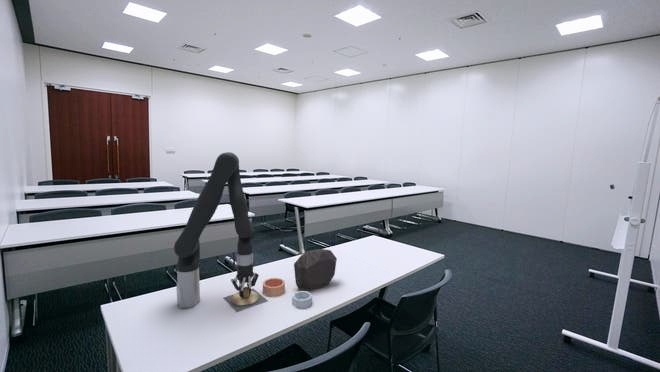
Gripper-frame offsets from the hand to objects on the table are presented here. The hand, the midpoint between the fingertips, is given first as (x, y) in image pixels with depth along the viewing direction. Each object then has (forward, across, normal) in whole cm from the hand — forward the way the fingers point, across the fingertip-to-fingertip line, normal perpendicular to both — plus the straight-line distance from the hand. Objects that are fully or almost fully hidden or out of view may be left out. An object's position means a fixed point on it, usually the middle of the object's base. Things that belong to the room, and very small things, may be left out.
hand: (245, 295), depth 149 cm
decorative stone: (+2, +36, -9) cm, 37 cm away
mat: (+2, 0, 0) cm, 2 cm away
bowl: (+2, +15, -1) cm, 15 cm away
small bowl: (+2, +20, -19) cm, 28 cm away
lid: (+2, 0, 0) cm, 2 cm away
